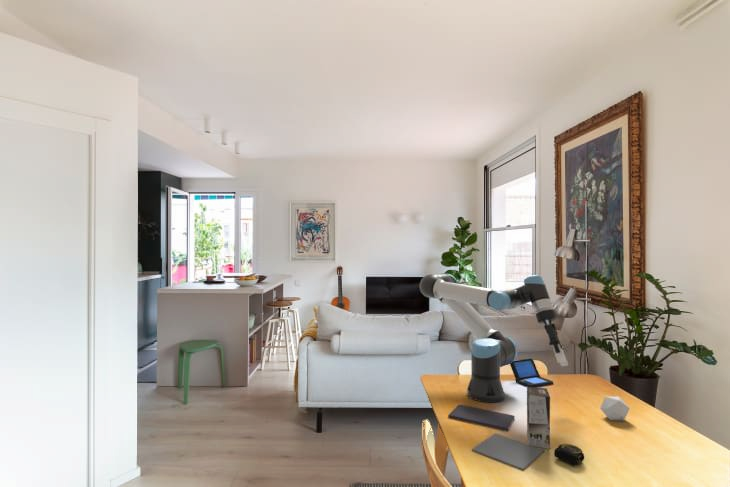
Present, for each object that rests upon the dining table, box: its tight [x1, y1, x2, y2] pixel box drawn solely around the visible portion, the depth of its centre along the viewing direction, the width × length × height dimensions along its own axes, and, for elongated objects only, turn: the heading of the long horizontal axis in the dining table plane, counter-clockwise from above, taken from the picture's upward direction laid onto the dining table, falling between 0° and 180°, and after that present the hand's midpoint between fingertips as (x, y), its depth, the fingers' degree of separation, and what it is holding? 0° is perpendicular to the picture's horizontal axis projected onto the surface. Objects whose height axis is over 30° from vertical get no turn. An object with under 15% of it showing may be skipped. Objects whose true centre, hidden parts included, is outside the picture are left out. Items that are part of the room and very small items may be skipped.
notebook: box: [447, 403, 516, 432], centre depth 148 cm, size 13×2×21 cm
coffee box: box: [526, 386, 551, 450], centre depth 130 cm, size 9×6×16 cm
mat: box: [471, 433, 545, 472], centre depth 123 cm, size 16×16×1 cm
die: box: [599, 396, 631, 421], centre depth 149 cm, size 8×9×10 cm
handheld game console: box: [509, 358, 554, 388], centre depth 191 cm, size 16×13×9 cm
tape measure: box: [553, 443, 585, 467], centre depth 118 cm, size 7×7×4 cm
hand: (563, 363), depth 156 cm, fingers open, 13 cm apart
